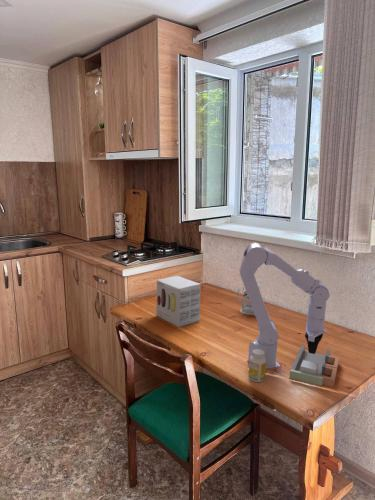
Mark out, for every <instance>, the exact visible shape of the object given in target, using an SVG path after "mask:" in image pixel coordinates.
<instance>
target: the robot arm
mask: <svg viewBox="0 0 375 500" xmlns="http://www.w3.org/2000/svg"><path fill="white" fill-rule="evenodd" d="M262 265H265V266H274V267H275V268H277V269H278V270H279V271H281V272H283V273H284V274H286V275H287V276H288V277H290V281H291V283H292V284H293V285H295V286H296V287H297V288H299V290H302V291H303V292H304V293H306V294H308V295H309V298H308V299H309V300H308V306H307V317H306V324H305V325H306V326H305V333H304V338H305V340H306V343H307V349H308V350H307V351H309V353H311V354H315V353H317V350H318V346H319V344H320V342H321V340H323V339H322V338H323V336H324V334H327V331H328V330H327V329H325V328H324V327H325V317H326V309H327V301H328V300H329V298H330V296H331V294H330V291H329V289H328V288H327V286H325V285H324V283H322V281H321V280H320V279H318V278H315V277H313V276H312V275H311V274H310V271H308V269H305V270H304V269H302V268H301V269H300V268H299V269H296V268H295V267H294V266H292V265H291V264H290V263H288V262H287V261H286V260H285V259H284V258H282V257H281V256H280V255H279V254H277V253H276V252H274V251H272V250H271V249H270V248H269V247H266V246H264V245H262V244H261V243H260V242H259V243H258V242H251V243H250V244H248V246H247V247H246V248H245V250H244V251H243V255H242V260H241V264H240V268H239V276H240V278H241V281H242V283H243V284H244V285H243V287H244V286H245V287H244V290H245V291H246V292H247V297H249V300H250V303H251V305H252V308H253V311H254V314H255V315H254V316H255V318H256V321H257V329H258V336H256V339H255V340H254V341H251V342H250V343H249V345H248V346H249V347H248V358H247V359H246V360H247V362H248V363H250V357H251V356H252V351H253V350H254V349H260V350H263V351H264V352H265V356H264V357H265V359H266V368H265V370H266V369H270V368H277V367H281V366H282V365H280V364H279V363H278V362H277V352H278V341H279V334H278V331H277V327H276V324H275V321H273V320H272V319H271V317H270V314H269V312H268V309H267V307H266V304H265V302H264V298H263V296H262V292H261V290H260V286H259V287H258V284H259V283H258V282H257V279H256V277H255V274H256V273H257V270H258V269H259V268H260V267H261V266H262ZM257 283H258V284H257ZM249 300H248V301H249ZM250 303H249V304H250Z"/></svg>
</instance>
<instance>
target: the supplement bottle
mask: <svg viewBox="0 0 375 500" xmlns="http://www.w3.org/2000/svg"><path fill="white" fill-rule="evenodd" d="M264 356H265V352H264V351H263V350H260V349H254V350H253V351H252V356H251V357H250V363H249V362H248V363H249V366H248V368H249V369H248V378H249V380H250V381H251V382H255V383H260V382H264V381H265V377H266V369H267V368H266V359H265V357H264ZM265 368H266V369H265Z"/></svg>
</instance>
